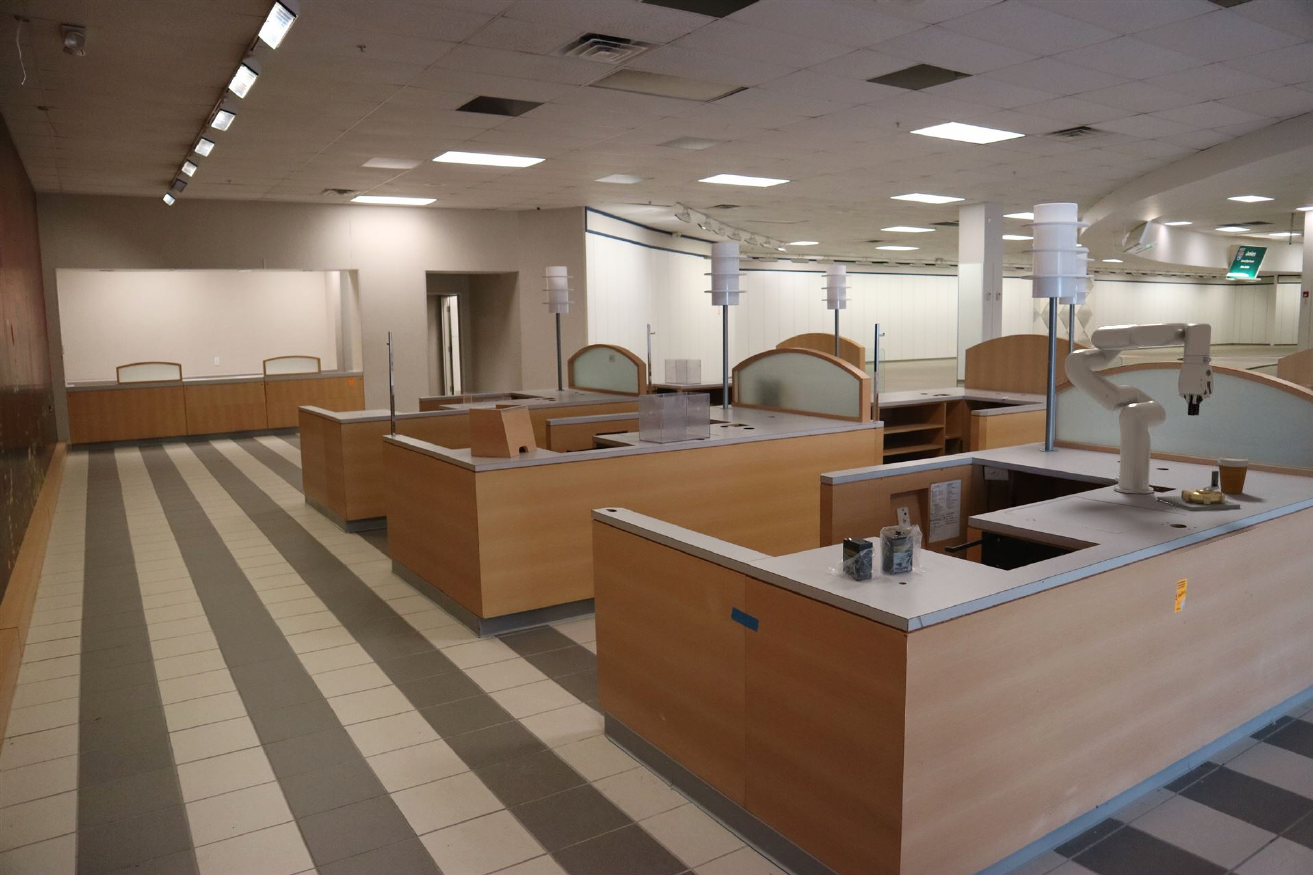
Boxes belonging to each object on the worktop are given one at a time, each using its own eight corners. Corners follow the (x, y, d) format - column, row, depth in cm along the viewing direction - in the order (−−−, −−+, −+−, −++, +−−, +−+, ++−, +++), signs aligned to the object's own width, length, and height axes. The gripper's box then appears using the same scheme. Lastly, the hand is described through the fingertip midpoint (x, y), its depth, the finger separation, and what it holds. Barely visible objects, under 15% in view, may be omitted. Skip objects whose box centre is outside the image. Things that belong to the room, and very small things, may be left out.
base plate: (1156, 500, 305) (1157, 496, 305) (1203, 498, 307) (1203, 494, 307) (1191, 510, 289) (1191, 506, 288) (1240, 508, 290) (1240, 504, 290)
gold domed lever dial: (1216, 505, 288) (1218, 479, 287) (1175, 500, 298) (1176, 475, 297) (1235, 498, 299) (1237, 472, 298) (1194, 493, 308) (1196, 468, 307)
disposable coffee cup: (1215, 489, 321) (1217, 456, 320) (1247, 491, 316) (1249, 457, 315) (1215, 493, 313) (1217, 460, 312) (1248, 495, 308) (1250, 461, 307)
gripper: (1225, 361, 293) (1221, 416, 295) (1185, 359, 307) (1182, 412, 309) (1207, 362, 290) (1204, 418, 293) (1168, 360, 304) (1165, 413, 307)
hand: (1193, 415), depth 301 cm, fingers closed
